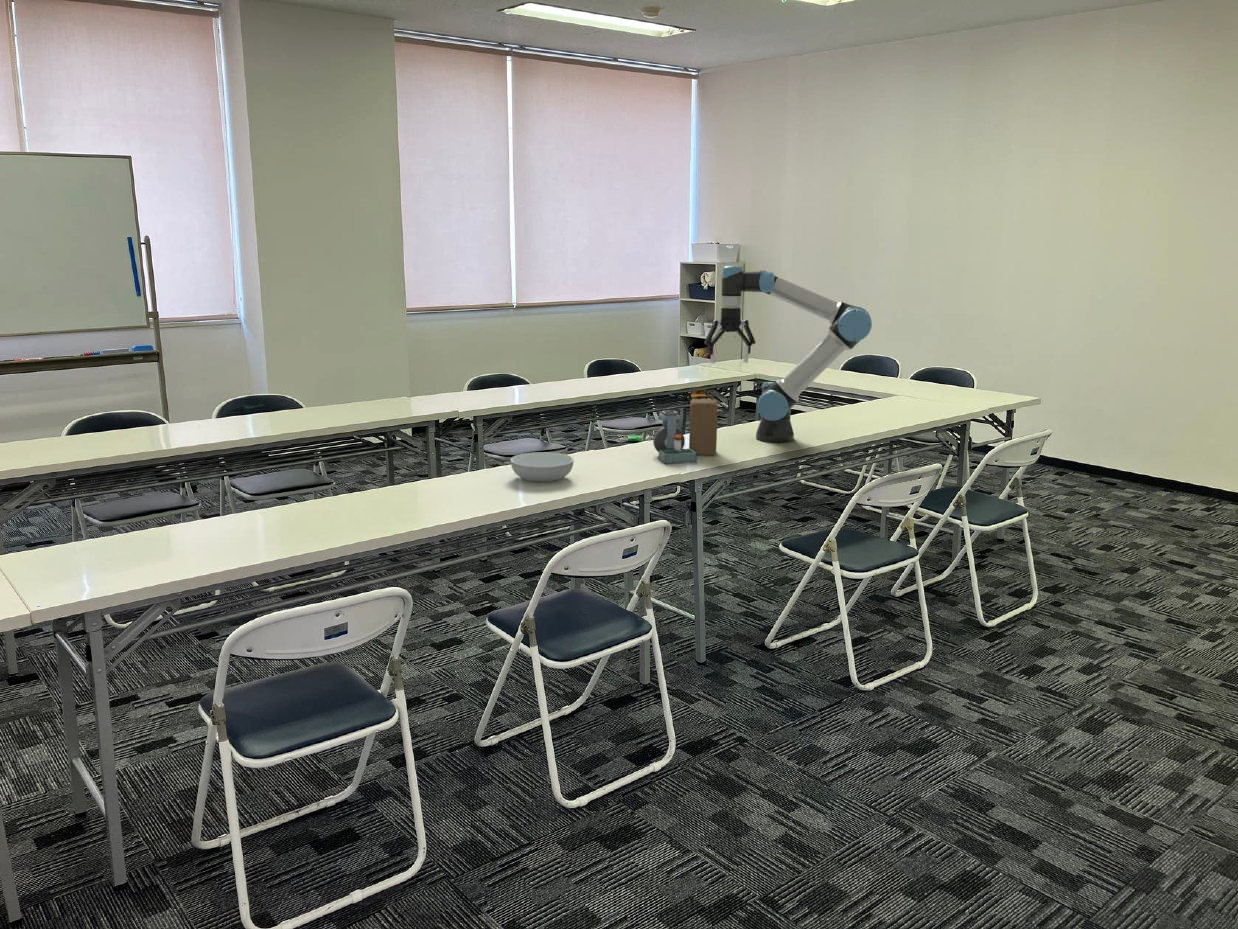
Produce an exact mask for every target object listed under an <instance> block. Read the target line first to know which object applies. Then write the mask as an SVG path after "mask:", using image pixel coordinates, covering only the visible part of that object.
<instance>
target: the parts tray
mask: <svg viewBox="0 0 1238 929" xmlns="http://www.w3.org/2000/svg"><path fill="white" fill-rule="evenodd" d="M658 461H660V462H661V463H663V464H664V465H678V464H692V463H696V464H697V462H698V456H697V453H696V452H695V451H693V450H691V449H689V448H683V449H681V453H680V454H674V449H672V450H659V452H658Z"/></svg>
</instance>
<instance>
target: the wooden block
mask: <svg viewBox="0 0 1238 929" xmlns="http://www.w3.org/2000/svg"><path fill="white" fill-rule="evenodd" d="M689 405H690V406H689V438H688V440H689V446H688V449H691V450H693V451H695V452H696V453H697V457H716V455H717V441H718V440H717V439H718V436H717V435H718V411H719V410H718V409H719V408H718V406H719V404H718V400H716V399H707V398H705V399H704V398H693V399H690V404H689Z"/></svg>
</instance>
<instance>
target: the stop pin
mask: <svg viewBox="0 0 1238 929" xmlns="http://www.w3.org/2000/svg"><path fill="white" fill-rule="evenodd" d="M683 436H684V434H683V435H681V434H675V435H673V438H674V454H680V453H681V439H682V438H683Z"/></svg>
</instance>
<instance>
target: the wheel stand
mask: <svg viewBox="0 0 1238 929" xmlns="http://www.w3.org/2000/svg"><path fill="white" fill-rule="evenodd" d="M658 418H660V419H661V420H662V427H659V429H658V430H656V431H655V434H654V436H653V440H652V441H653V442H652V443H653V447H654V448H655V450H656V451H657V453H659V450H672V449H674V438H673V435H675V434H681V435H683V438H682V439H681V449H684V447H685V440H686V439H685V437H684V433H683V432H682V431H681V430H680V429H679V428H677V421H680V420H681V415H679V412H678V411H676V410H661V412H660V413H658Z"/></svg>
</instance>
